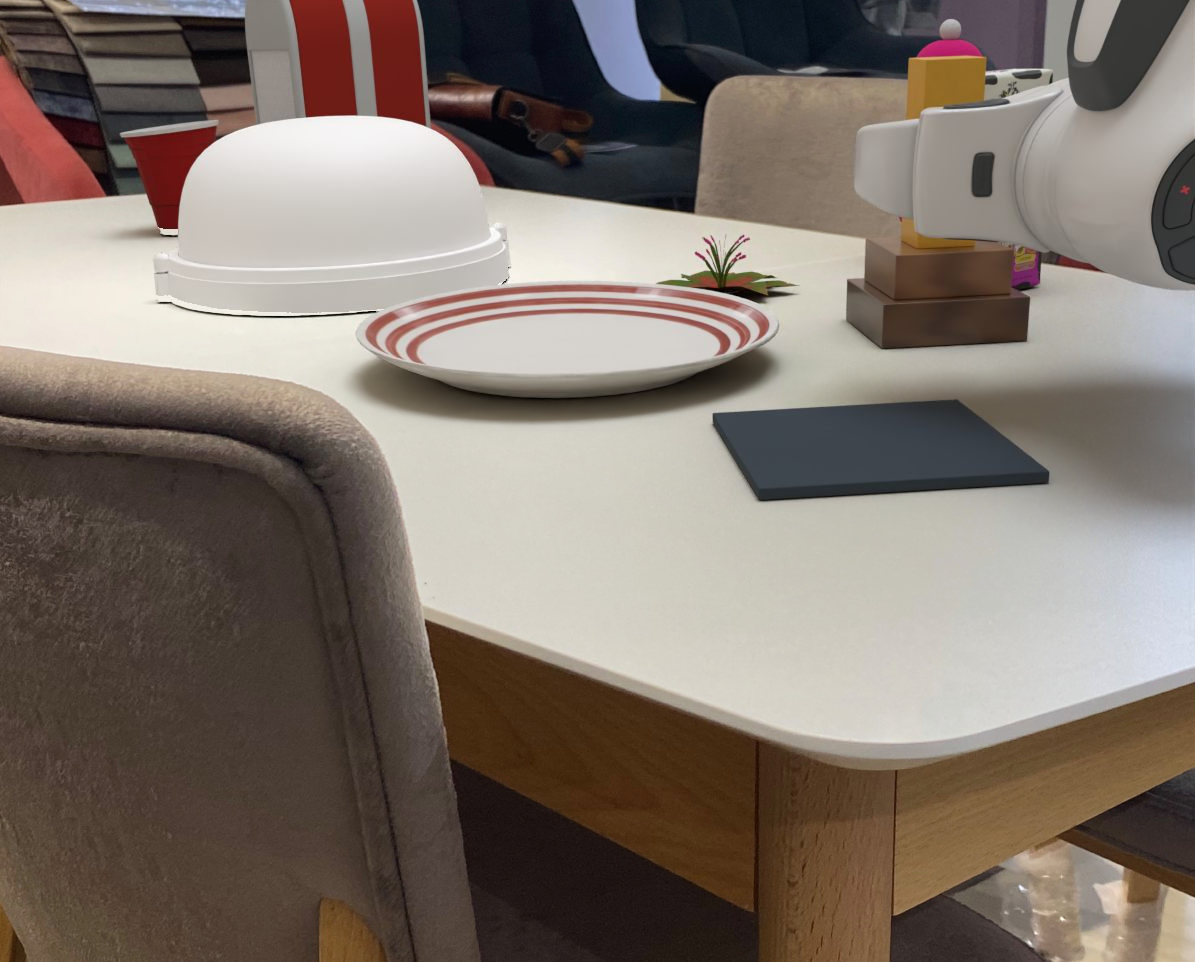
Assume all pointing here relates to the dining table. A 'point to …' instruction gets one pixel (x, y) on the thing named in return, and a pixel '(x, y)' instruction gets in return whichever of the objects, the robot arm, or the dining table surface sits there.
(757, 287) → the lily flower
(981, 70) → the bar
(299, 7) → the red striped carton
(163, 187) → the plastic cup
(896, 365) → the dining table surface
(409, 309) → the dinner plate
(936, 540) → the dining table surface
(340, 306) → the dome cover
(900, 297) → the stepped bronze pedestal
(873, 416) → the mat
